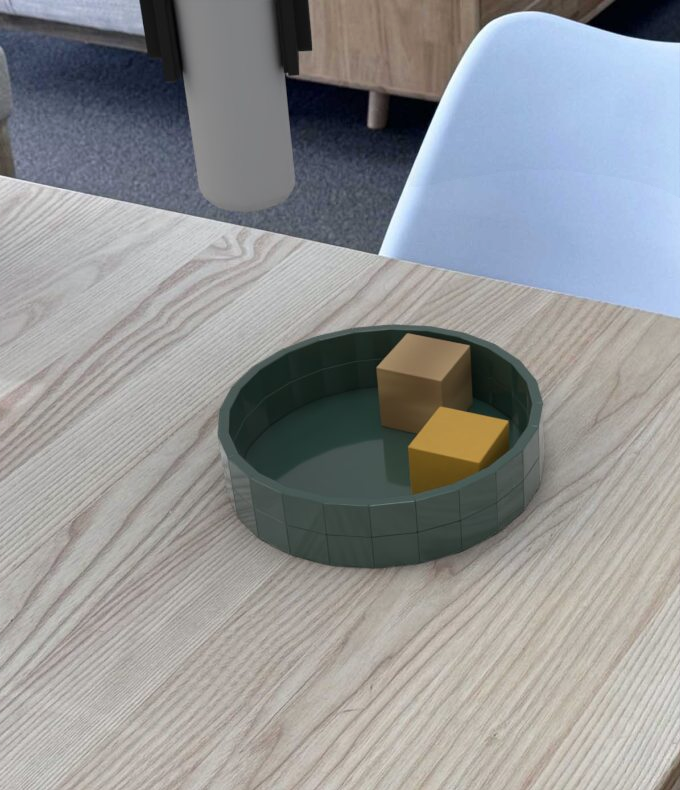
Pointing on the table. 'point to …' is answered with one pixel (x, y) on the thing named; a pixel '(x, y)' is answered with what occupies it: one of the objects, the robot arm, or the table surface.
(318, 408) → the bowl
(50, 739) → the table surface
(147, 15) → the robot arm
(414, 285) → the table surface
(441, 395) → the maple block
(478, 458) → the mustard block
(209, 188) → the beverage can
